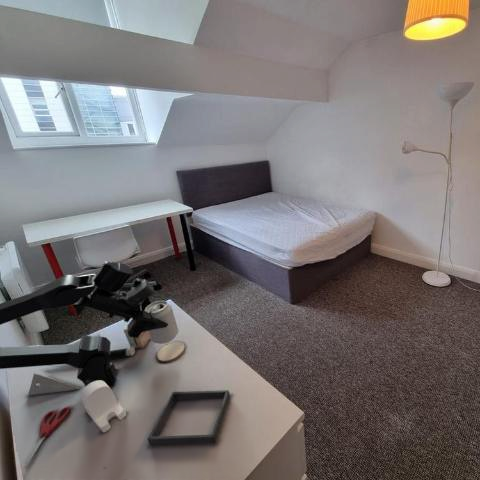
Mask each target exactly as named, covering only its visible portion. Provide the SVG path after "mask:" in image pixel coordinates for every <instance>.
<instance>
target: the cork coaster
mask: <svg viewBox="0 0 480 480" xmlns="http://www.w3.org/2000/svg"><path fill="white" fill-rule="evenodd" d="M185 348H186V347H185V344H184V343H183V342H181V341H173V342H172V341H171V342H168V343H166V345H164V346H162V347H161V348H160V349H159V351H158V352H157V353H156V358H157V360H158V361H159V362H161V363H167V362H172V361H175V360H176V359H178V358H179V357H180V356H182V355H183V353H184V352H185Z"/></svg>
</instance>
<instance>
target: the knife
mask: <svg viewBox="0 0 480 480" xmlns="http://www.w3.org/2000/svg"><path fill="white" fill-rule="evenodd" d="M135 353H136V348H134V347H132V348H131V347H126V348H119V349H113V350H110V359H109V360H111V359H118V358H123V357H129V356H134V355H135ZM61 366H68V365H67V364H60V365H47V367H61Z"/></svg>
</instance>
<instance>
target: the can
mask: <svg viewBox="0 0 480 480" xmlns="http://www.w3.org/2000/svg"><path fill="white" fill-rule="evenodd" d="M145 311H146V312H148V313H149V312H150V311H151V313H152V316H153V317H154V318H157V319H159V320H161V321H164V322H166V323H168V326H167V327H165V328H160V329H154V330H149V333H150V336H151V338H150V339H151V341H152V342H153V343H154V344H157V345H158V344H159V345H163V344H168V343H171V342H172V341H173V340H174V339H175V338H176V337H177V336H178V334H179V328H178V324H177V321H176V317H175V314H174V310H173V308H172V304H170V303H169V302H168V301H166V300H156V301H153V303H151V304H150V305H148V306H147V307H146V308H145Z"/></svg>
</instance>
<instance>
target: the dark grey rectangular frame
mask: <svg viewBox="0 0 480 480" xmlns="http://www.w3.org/2000/svg"><path fill="white" fill-rule="evenodd" d="M230 398H231V394H230V390H229V389H224V390H223V389H219V390H190V391H187V390H186V391H172V392H171V394H170V396H169V398H168V399H167V402H166V404H165V405H164V407H163V409H162V411H161V413H160V415H159V417H158V419H157V420H156V422H155V424H154V425H153V428H152V430H151V432H150V433H149V435H148V437H147V442H148V443H149V445H150V446H154V447H155V446H182V445H185V446H187V445H212V444H213V445H215V444H216V442H217V440H218V436H219V433H220V430H221V427H222V423H223V420H224V417H225V413H226V411H227V407H228V404H229V401H230ZM219 399H222V403H221V405H220V408H219V411H218V414H217V417H216V421H215V422H214V426H213V429H212V431H211V434H187V435H185V434H183V435H161V436H160V435H159V434H161V433H160V432H161V431H162V429H163V427H164V425H165V423H166V420H167V419H168V417H169V415H170V413H171V411H172V409H173V407H174V405H175V403H176V401H187V400H188V401H189V400H190V401H191V400H219Z"/></svg>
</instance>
